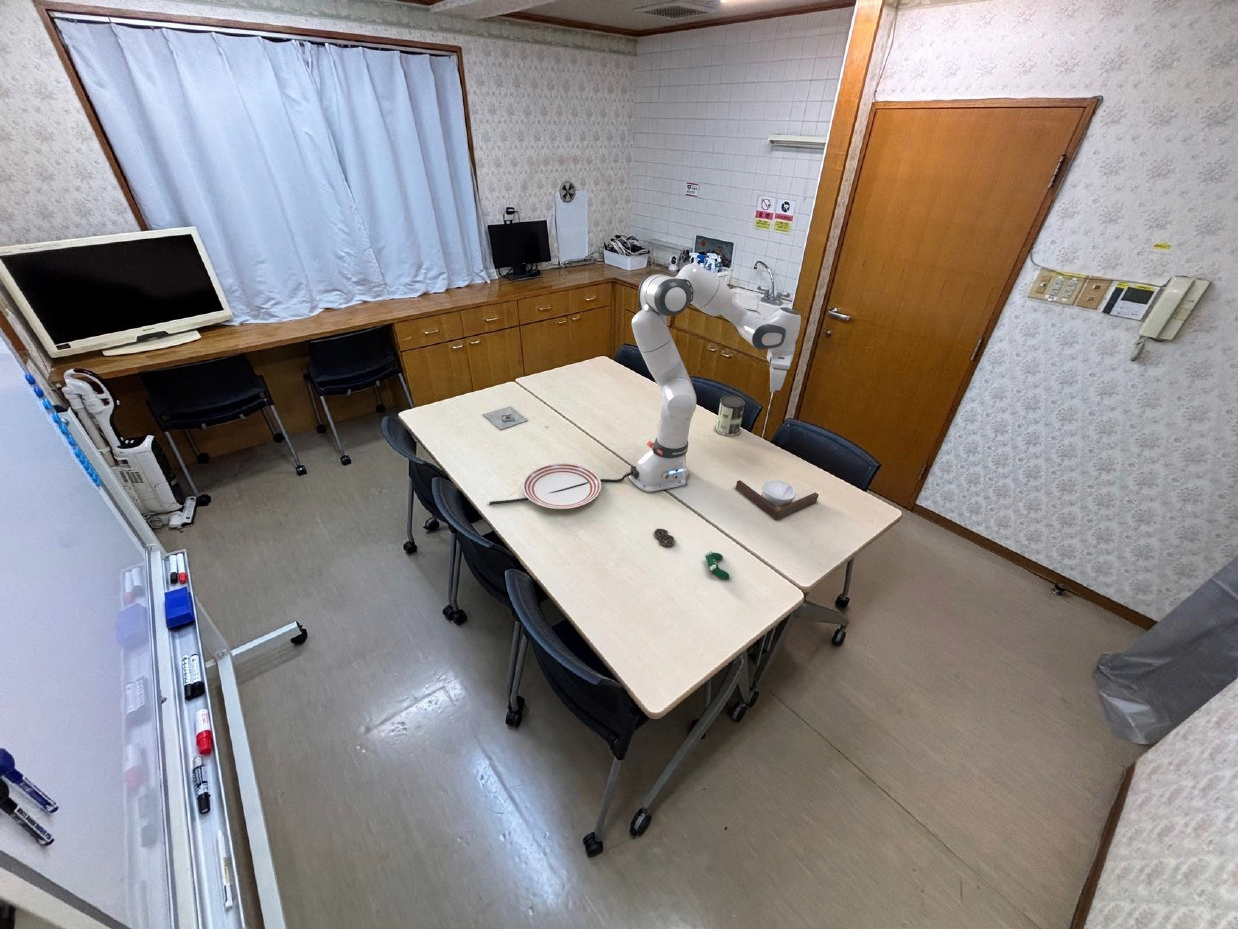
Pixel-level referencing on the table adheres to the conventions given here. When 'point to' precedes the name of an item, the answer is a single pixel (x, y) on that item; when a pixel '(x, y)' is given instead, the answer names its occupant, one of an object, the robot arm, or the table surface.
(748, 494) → the corner guard
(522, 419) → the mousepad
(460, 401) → the table surface
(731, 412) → the coffee can
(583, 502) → the plate
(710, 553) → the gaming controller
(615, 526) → the table surface
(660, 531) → the corroded twin loop
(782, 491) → the ramekin
